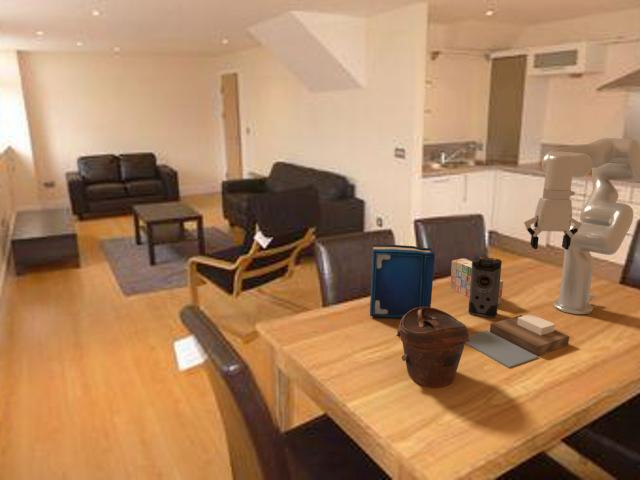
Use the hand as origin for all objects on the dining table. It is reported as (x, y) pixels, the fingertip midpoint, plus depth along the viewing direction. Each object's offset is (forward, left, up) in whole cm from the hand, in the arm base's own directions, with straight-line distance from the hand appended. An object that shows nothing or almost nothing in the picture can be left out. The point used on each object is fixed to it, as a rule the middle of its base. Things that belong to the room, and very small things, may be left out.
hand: (549, 248), depth 155 cm
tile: (+7, +4, -23) cm, 24 cm away
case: (+51, +6, -27) cm, 59 cm away
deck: (+10, +4, -27) cm, 29 cm away
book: (+34, -30, -27) cm, 53 cm away
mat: (+24, +4, -27) cm, 36 cm away
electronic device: (+8, -17, -27) cm, 34 cm away
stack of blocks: (-1, -31, -28) cm, 42 cm away
